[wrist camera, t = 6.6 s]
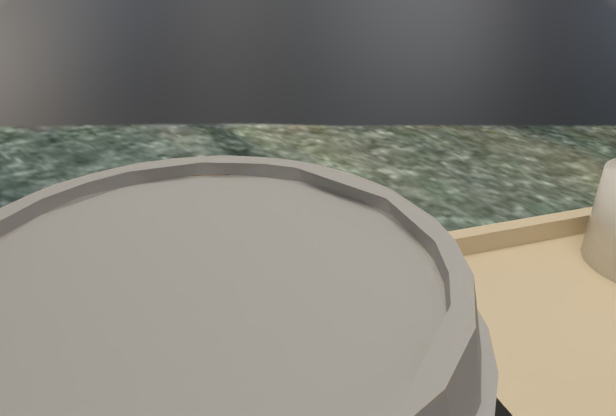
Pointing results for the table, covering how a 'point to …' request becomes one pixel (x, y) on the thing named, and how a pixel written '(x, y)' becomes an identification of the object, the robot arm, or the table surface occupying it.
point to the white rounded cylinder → (602, 226)
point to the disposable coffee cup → (236, 297)
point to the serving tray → (545, 314)
